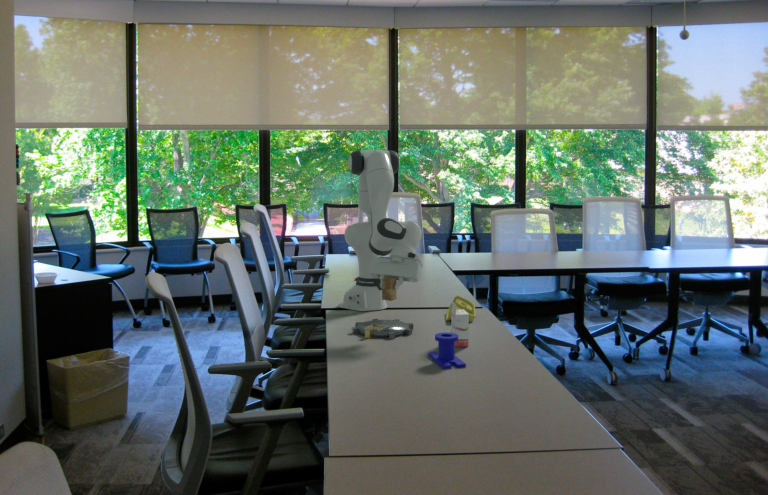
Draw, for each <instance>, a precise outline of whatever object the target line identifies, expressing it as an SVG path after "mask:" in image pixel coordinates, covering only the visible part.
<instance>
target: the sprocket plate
mask: <svg viewBox="0 0 768 495" xmlns="http://www.w3.org/2000/svg"><path fill="white" fill-rule="evenodd" d="M354 325H355V327H351V330H352V331H351V332H352V334H353V335H357V334H358V335H361V336H364V338H365V339H372V338H376V339H377V338H378V339H382V338H383V339H386V338H387V339H389V340H392V339H394V340H395V338H397V337H402V336H405V335H406V336H411V335H413V330H414V323H412V322H411V323H410V322H409V323H407V322H405V321H400V319H398V318H395V319H378V318H372V319H371V320H367V321H363V322H362V321H356V322H355V324H354Z"/></svg>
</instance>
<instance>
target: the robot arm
mask: <svg viewBox="0 0 768 495" xmlns="http://www.w3.org/2000/svg"><path fill="white" fill-rule="evenodd" d="M347 160H348V161H347V165H348V168H349V171H350V173H351V174H352V175H355V176H359V178H358V194H357V195H358V201H357V202H358V208H359V210H360V211H361V212H362V213H363V214H365V215H366V217H367V220H368V221H365V222H363V221H362V222H355V223H353V224H349V225H347V226H346V228H345V230H344V240H345V243H346V244H347V245H348V246H349V247H351V249H353V251H354V252H355V255H356V257H357V262H358V276H357V277H356V278H354V279H353V282H355V284H354V285H353V286H352V287H350V288H349V289H348V290H347V291H346V292H345V293H344V294H343V300H342V302H340V303H339V304H338V308H342V309H347V310H352V311H359V312H367V311H381V310H385V309H387V308H388V304H387V300H382V278H385V277H394V278H397V283H394V285H393V288H394V289H395V290H397V291H398V290H399V288H400V287H401V286H402V285H404V283H405V282H409V283H418V282H419V281H420V279H421V276H422V273H423V269H422V268H423V267H424V264H423V261H422V258H421V257H420V255H419V254H417V253H415V252H416V250H418V247H419V246H420V242H421V238H422V235H423V234H422V228H421V227H420V225H419V224H418V223H416V222H414V221H412V220H406V221H399V220H396V219H393V218H390V217H387V211H388V206H389V203H390V200H391V198H392V195H393V193H394V188H395V174H396V173H397V172H398V171H399V167H400V166H401V165H400V163H401V162H400V156H399V154H398V152H396V151H395V150H390V149H388V150H387V149H386V150H385V149H366V150H354V151H352V152H351V153H350V154H349V158H348V159H347ZM388 255H389V256H388Z"/></svg>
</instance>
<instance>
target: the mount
mask: <svg viewBox="0 0 768 495" xmlns="http://www.w3.org/2000/svg"><path fill="white" fill-rule="evenodd" d="M434 340H435V341H436V342H437V344H438V346H437V347H438V351H428V353H427V355H429V356H430V357H431V358H432V359H431V358H430V357H429V356H428V357H429V358H430V359H431V360H432V361H433V362H435V363H436V364H437V365H438V366H439V367H440V368H441V367H442V368H441V369H442V370H450V369H452V367H453V366H454V367H456V369H462V368H467V363H465V361H463V360H462V359H461V358H459V357H458V356H457V355H456V352H455V348H456V347H455V341H458V335H457V334H455V333H451V332H438V333H436V334H434Z"/></svg>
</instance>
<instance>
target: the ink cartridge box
mask: <svg viewBox="0 0 768 495" xmlns="http://www.w3.org/2000/svg"><path fill="white" fill-rule="evenodd" d="M451 303H452V310H451V319H450V323H451V325H450V333H455V334H457V335H458V341H455V348H465V347H466V348H468V347H469V325H470V324H469V323H470V322H469V314H468V313H467V312H466V311H465V310H464V309H460V310H456V309H457V306H456V305H455V304H454V303H453V302H451ZM453 307H455V309H454V308H453Z"/></svg>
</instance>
